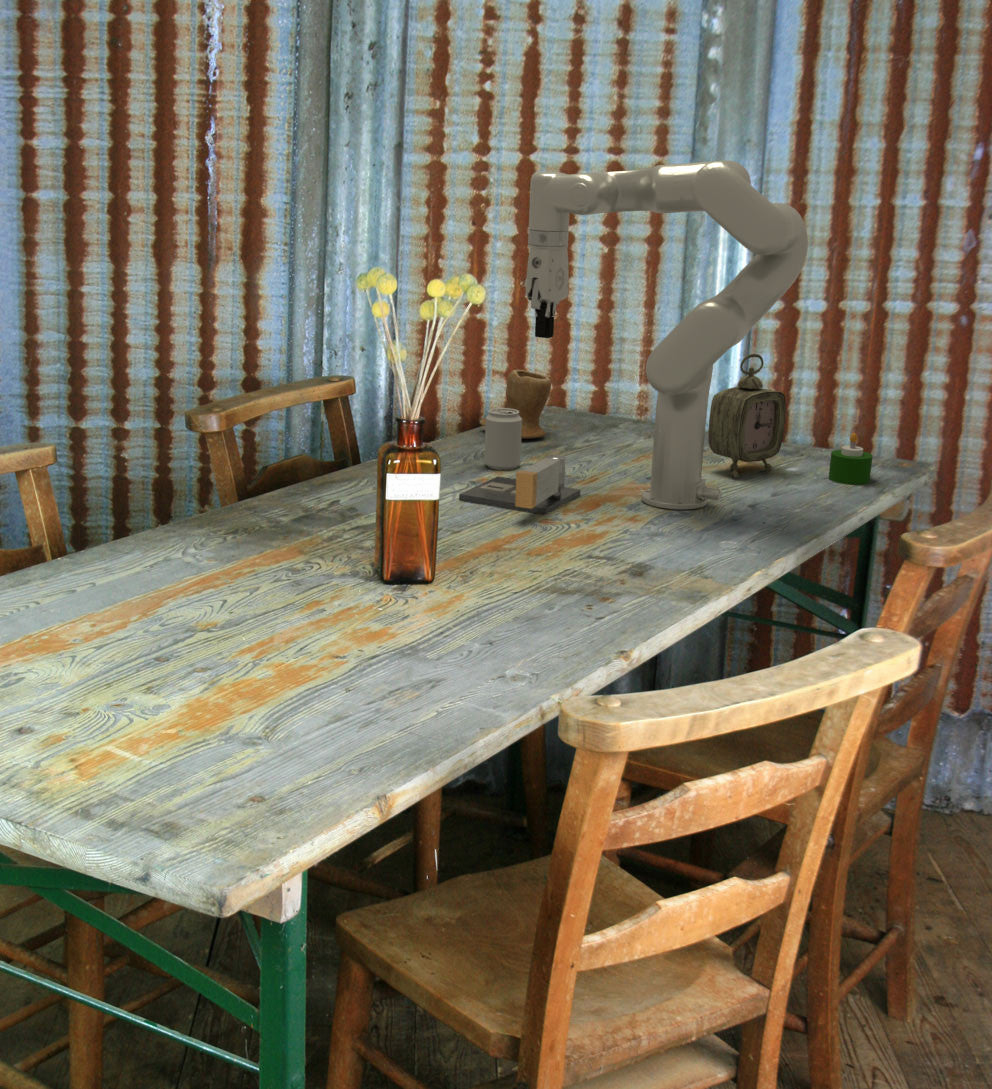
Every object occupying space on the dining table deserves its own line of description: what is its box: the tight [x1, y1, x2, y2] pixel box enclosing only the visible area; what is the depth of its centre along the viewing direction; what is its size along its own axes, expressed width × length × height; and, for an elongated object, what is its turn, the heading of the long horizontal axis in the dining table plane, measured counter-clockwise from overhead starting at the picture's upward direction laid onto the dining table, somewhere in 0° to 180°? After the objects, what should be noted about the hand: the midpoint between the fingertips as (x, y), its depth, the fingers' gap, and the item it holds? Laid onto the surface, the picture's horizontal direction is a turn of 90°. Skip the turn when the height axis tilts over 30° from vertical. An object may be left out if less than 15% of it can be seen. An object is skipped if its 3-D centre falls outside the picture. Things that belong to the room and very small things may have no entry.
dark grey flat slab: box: [458, 476, 582, 516], centre depth 254 cm, size 18×16×3 cm
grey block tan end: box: [515, 454, 566, 509], centre depth 243 cm, size 17×4×6 cm, turn 156°
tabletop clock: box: [707, 353, 787, 479], centre depth 275 cm, size 14×9×25 cm, turn 129°
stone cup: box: [480, 369, 552, 440], centre depth 304 cm, size 15×12×15 cm
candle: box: [828, 432, 873, 486], centre depth 274 cm, size 8×8×10 cm
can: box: [483, 407, 522, 471], centre depth 275 cm, size 8×8×12 cm
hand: (544, 337), depth 256 cm, fingers closed
